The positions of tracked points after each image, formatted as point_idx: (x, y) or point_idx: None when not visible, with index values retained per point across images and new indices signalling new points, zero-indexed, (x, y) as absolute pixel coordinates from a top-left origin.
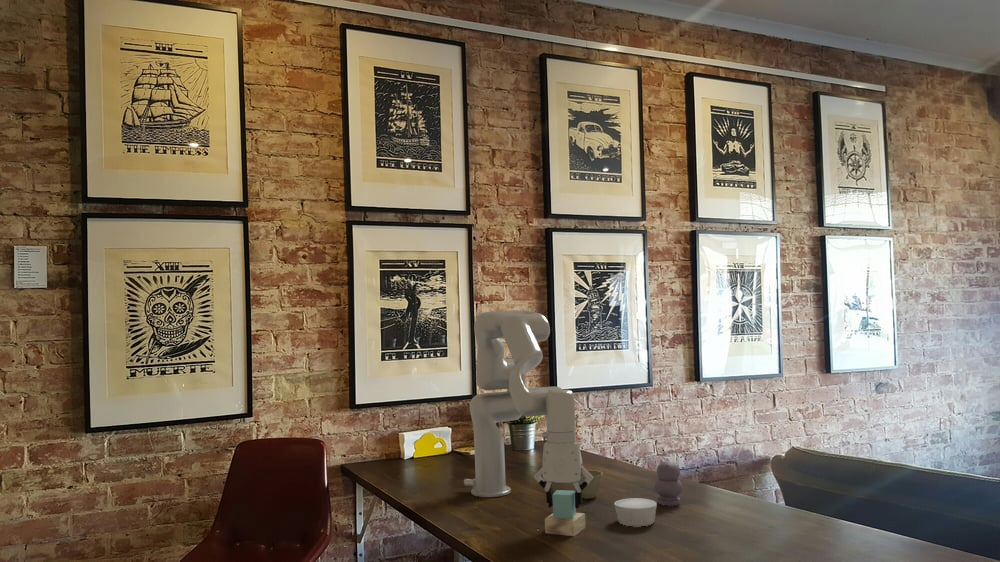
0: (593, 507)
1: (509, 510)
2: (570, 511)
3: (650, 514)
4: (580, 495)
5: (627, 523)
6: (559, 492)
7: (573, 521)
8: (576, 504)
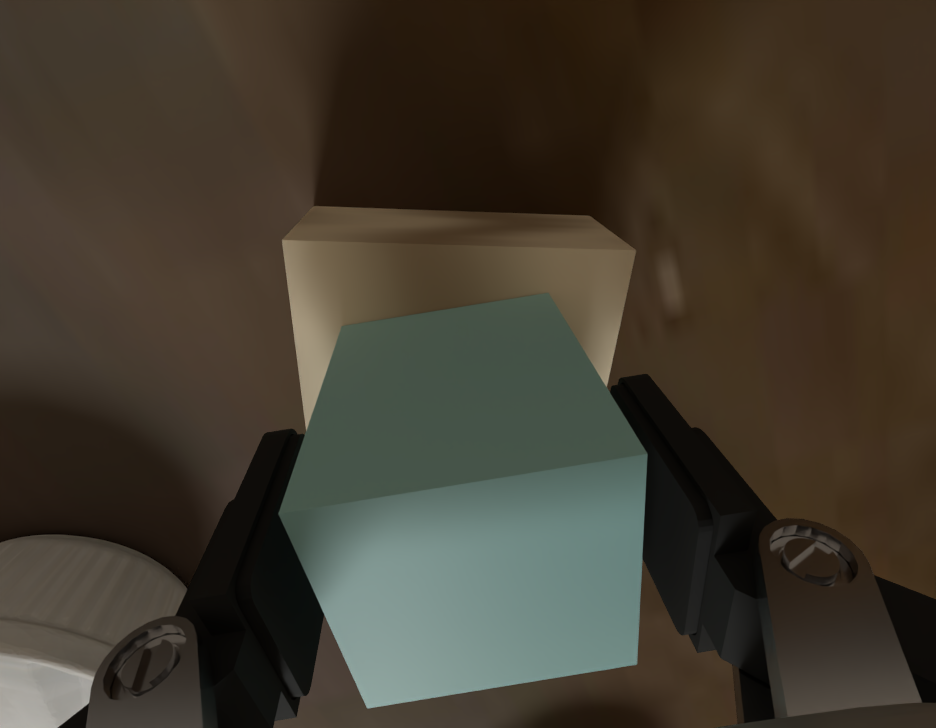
0: (454, 715)
1: (904, 566)
2: (348, 363)
3: None
4: (188, 594)
5: (53, 545)
6: (558, 590)
7: (285, 247)
8: (269, 455)
